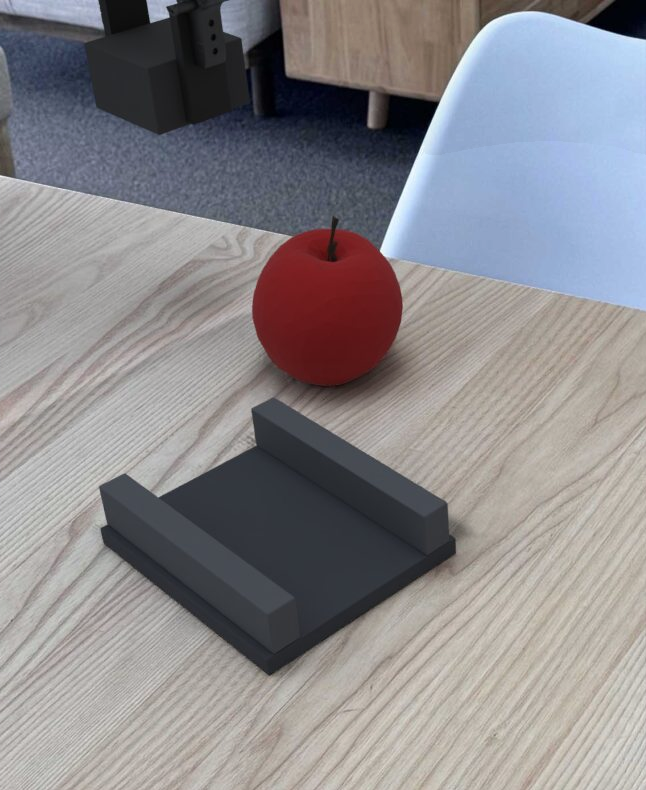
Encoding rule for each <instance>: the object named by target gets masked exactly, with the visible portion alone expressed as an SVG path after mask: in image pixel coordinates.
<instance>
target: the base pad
mask: <svg viewBox="0 0 646 790" xmlns="http://www.w3.org/2000/svg"><path fill="white" fill-rule="evenodd" d="M250 410H251V416H252V417H251V419H252V426H253V431H254V439H255V446H253V447H251V448H248V449H247V450H245V451H243V452H241V453H239V454H238V455H235V456H234V457H232V458H229V459H228V460H226V461H224V462H223V463H221V464H218V465H217V466H215V467H213V468H211V469H209V470H207V471H206V472H203V473H202V474H200V475H198V476H196V477H194V478H193V479H189V481H187V482H184V483H183V484H181V485H179V486H177V487H175V488H173V489H172V490H170V491H168V492H165V493H164V494H161V495H159V496H157V495H156V494H155V493H153V492H152V491H151V490H149V489H148V488H146V487H145V486H143V485H142V484H141V483H140V482H138V481H136V480H135V479H134V478H132V477H131V476H130V475H128V474H127V473H126V472H125V473H122V474H120V475H118V476H116V477H114V478H111V479H110V480H108V481H106V482H104V483H102V484H99V486H98V489H99V494H100V498H101V503H102V507H103V511H104V517H105V521H106V525H103V526H101V527H100V528H99V529H100V533H101V538H102V542H103V544H104V545H105V546H107V547H108V548H109V549H110V550H112V551H113V552H114V553H115V554H116V555H118V556H119V557H120V558H122V559H123V560H124V561H125V562H127V563H128V564H129V565H131V567H133V568H134V569H135V570H137V571H138V572H139V573H140V574H142V575H143V576H144V577H146V578H147V580H149V581H150V582H152V584H154V585H156V586H157V587H158V588H159V589H160V590H162V591H163V592H164V593H166V594H167V595H168V596H169V597H171V598H172V599H173V600H174V601H176V602H177V603H178V604H179V605H181V606H182V607H183V608H184V609H186V610H187V611H188V612H189V613H191V614H192V615H193V616H195V618H197V619H198V620H199V621H200V622H201V623H203V624H204V625H205V626H206V627H208V628H210V629H211V630H212V631H213V632H214V633H216V634H217V635H218V636H220V637H221V638H222V639H223V640H225V641H226V642H227V643H228V644H229V645H231V646H232V647H233V648H234V649H236V650H237V651H238V652H240V653H241V654H242V655H243V656H245V658H247V659H248V660H250V661H251V662H252V663H253V664H255V666H257V667H258V668H259V669H260V670H262V671H264V672H265V674H267V675H268V676H270V675H273V673H275V672H277V671H278V670H279V669H281V668H283V667H284V666H285V665H287V664H288V663H290V662H292V661H293V660H294V659H295V660H296V658H298V657H300V656H301V655H303V654H304V653H305V652H307V651H308V650H310V649H312V648H313V647H314V646H316V645H318V644H319V643H321V642H323V641H324V640H325V639H327V638H328V637H330V636H331V635H333V634H335V633H336V632H338V631H340V630H341V629H342V628H344V627H345V626H347V625H348V624H349V623H352V621H354V620H356V619H357V618H359V617H360V616H362V615H363V614H365V613H366V612H368V611H370V610H371V609H372V608H374V607H376V606H378V605H379V604H380V603H382V602H383V601H385V600H387V599H388V598H390V597H391V596H393V595H395V593H397V592H399V591H400V590H402V589H403V588H405V587H406V586H408V585H409V584H411V583H412V582H414V581H415V580H417V579H418V578H420V577H421V576H423V575H424V574H426V573H428V572H429V571H431V570H432V569H433V568H435V567H437V566H438V565H439V564H442V563H443V562H445V561H446V560H447V559H449V558H451V557H452V556H454V555H455V554H456V553H457V543H456V537H454V536H453V535H452V534H450V524H449V522H450V521H449V505H448V504H449V503H448V502H447V501H445V500H444V499H442V498H440V497H439V496H438V495H436V494H434V493H432V492H431V491H429V490H428V489H426V488H424V487H423V486H421V485H419V484H418V483H417V482H414V481H413V480H412V479H410V478H408V477H406V476H405V475H403V474H401V473H399V472H398V471H396V470H395V469H393V468H391V467H390V466H388V465H386V464H384V463H383V462H381V460H380V461H379V460H378V459H376V458H375V457H373V456H371V455H370V454H368V453H367V452H365V451H364V450H362V449H360V448H359V447H356V446H355V445H353V444H352V443H350V442H349V441H347V440H345V439H344V438H342V437H340V436H339V435H337V434H336V433H333V431H330V430H328V429H327V428H326V427H324V426H322V425H320V424H319V423H318V422H315V421H314V420H312V419H311V418H309V417H307V416H306V415H304V414H302V413H301V412H299V411H298V410H296V409H294V408H292V407H291V406H289V405H288V404H286V403H284V402H282V401H281V400H279V399H278V398H276V397H271V398H268V399H267V400H265V401H263V402H261V403H259V404H257V405H255V406H253V407H251V408H250Z"/></svg>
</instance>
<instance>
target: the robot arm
mask: <svg viewBox="0 0 646 790" xmlns="http://www.w3.org/2000/svg"><path fill="white" fill-rule="evenodd" d="M97 1H98V6H99V12H100V17H101V22H102V25H103V31H104V37H106V36H109V35H112V34H116V33H119V32H122V31H126V30H129V29H132V28H136V27H139V26H142V25H146V24H149V23H151V18H150V13H149V5H148V0H97ZM175 1H176V3H174V4H170V5H166V6H165V9H166V10H167V12H168V16H169V17H170V24H171V30H172V36H173V43H174V49H175V55H176V62H177V68H178V74H179V81H180V87H181V93H182V99H183V106H184V112H185V118H186V122H188V123H191V124H190V125H193V126H195V125H197V124H200V123H203V122H206V121H208V120H211V119H215V118H216V117H219V116H222V115H225V114H228V113H231V112H232V110H233V109H231V102H230V95H229V88H228V80H227V73H226V66H225V60H226V48H225V45H224V43H225V41H224V37H223V36H224V34H223V32H224V27H223V20H222V13H221V12H222V11H221V10H222V9H221V8H222V5H223V3H224V2H228V1H230V0H175ZM169 17H168V18H169Z"/></svg>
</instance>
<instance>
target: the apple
mask: <svg viewBox="0 0 646 790" xmlns="http://www.w3.org/2000/svg"><path fill="white" fill-rule="evenodd" d="M339 221H340V219H339V218H337V217H336V216H334V215H332V218H331V226H330V227H331V228H314V229H310V230H307V231H303V232H300V233H298V234H296V235H293V236H291V237H290V238H289V239H287V240H286V241H285V242H283V243H282V244H281V245H279V246H278V248H277V249H276V250H275V251H274V252H273V253H272V254H271V256H270V257H269V258H268V260H267V262H266V263H265V265H264V266H263V268H262V269H261V271H260V274H259V276H258V278H257V281H256V284H255V288H254V291H253V295H252V303H251V315H252V322H253V325H254V330H255V335H256V337H257V339H258V341H259V343H260V344H261V346H262V348H263V349H264V352H265V353H266V355H267V356H268V358H269V359H270V360H271V361H272V363H274V364H275V366H276V367H277V368H278V369H279V370H281V371H282V372H284V373H286V374H287V375H288V376H290V377H291V378H294V379H295V380H298V381H300V382H302V383H306V384H312V385H315V386H324V387H325V386H326V387H333V386H340V385H343V384H347V383H349V382H351V381H353V380H355V379H357V378H359V377H362V376H363V375H364V374H367V373H368V372H370V371H372V370H373V369H375V367H376V366H377V365H378V364H379V363H380V362H381V361H382V360H384V358H385V357H386V355H387V354H388V353H389V351H390V349H391V348H392V346H393V344H394V342H395V341H396V339H397V337H398V332H399V330H400V327H401V324H402V318H403V311H404V310H403V309H404V306H403V294H402V290H401V285H400V283H399V280H398V277H397V275H396V272H395V270H394V268H393V266H392V265H391V263H390V261H389V260H388V259H387V258H386V257H385V255H384V254H383V253H382V252H381V251H380V249H379V248H378V247H376V245H374V244H373V243H372V242H371V241H370V240H369V239H367V237H365V236H363V235H361V234H359V233H357V232H354V231H350V230H347V229H340V228H339V229H338V228H337V226H338V224H339Z"/></svg>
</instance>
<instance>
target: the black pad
mask: <svg viewBox="0 0 646 790" xmlns="http://www.w3.org/2000/svg"><path fill="white" fill-rule="evenodd" d="M223 34H224V36H223V37H224V41H225V43H224V45H225V48H226V60H225V66H226V73H227V80H228V88H229V95H230V102H231V109H232V110H234V109H236V108H240V107H242V106H245V105H248V104H250V102H251V100H250V91H249V85H248V77H247V70H246V69H247V68H246V64H245V63H246V61H245V54H244V46H243V40H242V37H240V36H237V35H234V34H231V33H228V32H226V31H223ZM83 46H84V51H85V56H86V61H87V66H88V70H89V77H90V81H91V87H92V91H93V92H92V93H93V97H94V102H95V107H96V109H99V110H101V111H103V112H106V114H107V113H108V114H110V115H112V116H114V117H117V118H119V119H122V120H124V121H126V122H128V123H131V124H133V125H135V126H138V127H139V128H142V129H144V130H146V131H149V132H151V133H153V134H156V135H158V136H161V135H164V134H167V133H170V132H172V131H175V130H178V129H181V128H183V127H186V126H189V125H192V124H191V123H188V122H186V118H185V112H184V106H183V99H182V93H181V87H180V81H179V74H178V68H177V62H176V55H175V49H174V43H173V36H172V30H171V24H170V17H167V18H163V19H160V20H156V21H152V22H150V23H149V24H146V25H142V26H139V27H136V28H132V29H129V30H126V31H122V32H119V33H116V34H112V35H109V36H106V37H105V36H103V37H102V36H101V37H100V38H96V39H93V40H89V41H86V42H84V43H83Z"/></svg>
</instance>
